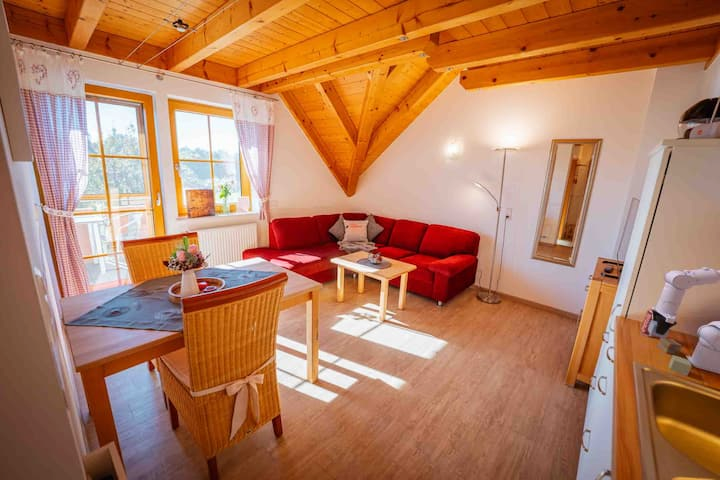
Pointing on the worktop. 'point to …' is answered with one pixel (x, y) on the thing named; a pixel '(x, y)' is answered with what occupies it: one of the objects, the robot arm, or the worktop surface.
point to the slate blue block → (653, 330)
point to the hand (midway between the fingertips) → (657, 331)
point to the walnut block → (669, 346)
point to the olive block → (680, 365)
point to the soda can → (647, 323)
